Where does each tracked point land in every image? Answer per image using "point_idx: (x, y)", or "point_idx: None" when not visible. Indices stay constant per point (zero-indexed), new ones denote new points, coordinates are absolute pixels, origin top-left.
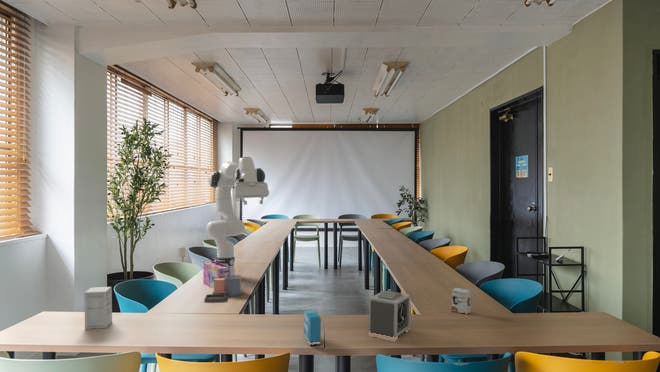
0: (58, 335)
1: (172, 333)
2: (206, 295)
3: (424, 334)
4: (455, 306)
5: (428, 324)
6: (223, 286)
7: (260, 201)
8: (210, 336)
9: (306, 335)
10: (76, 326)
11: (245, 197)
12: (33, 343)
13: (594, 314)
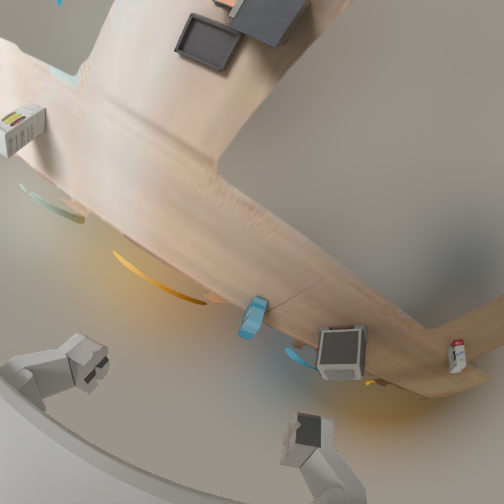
0: None
1: (111, 192)
2: (187, 22)
3: None
4: (453, 349)
5: (396, 343)
6: None
7: (283, 449)
8: (153, 228)
9: (249, 307)
10: None
11: (42, 416)
12: None
13: (485, 379)
